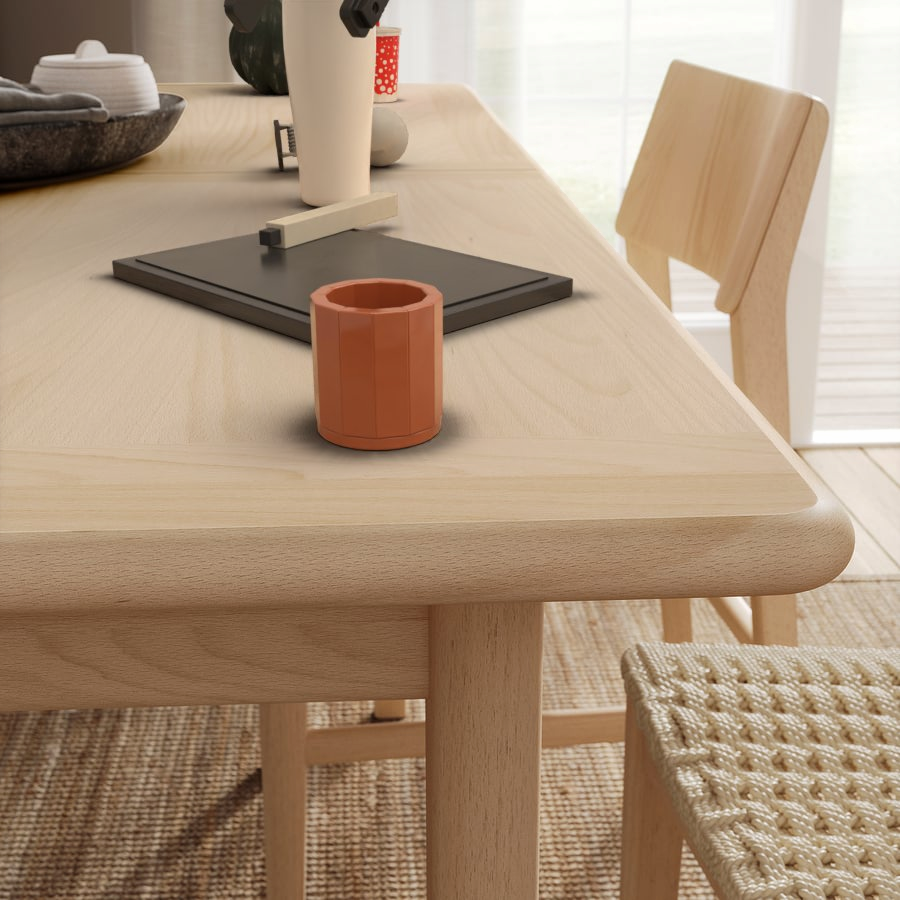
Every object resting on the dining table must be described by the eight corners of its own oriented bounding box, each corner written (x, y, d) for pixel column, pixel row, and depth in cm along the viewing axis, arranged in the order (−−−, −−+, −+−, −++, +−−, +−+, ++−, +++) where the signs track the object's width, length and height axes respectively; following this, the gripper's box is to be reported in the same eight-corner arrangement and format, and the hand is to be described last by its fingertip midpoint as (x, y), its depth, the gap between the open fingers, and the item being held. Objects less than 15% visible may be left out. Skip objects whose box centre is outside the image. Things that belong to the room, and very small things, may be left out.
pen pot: (292, 426, 47) (284, 294, 45) (383, 396, 51) (380, 271, 48) (374, 461, 44) (371, 320, 42) (466, 426, 47) (467, 294, 45)
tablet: (113, 276, 69) (111, 258, 69) (321, 234, 80) (321, 218, 79) (358, 359, 55) (357, 337, 55) (573, 295, 66) (573, 276, 65)
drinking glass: (273, 202, 90) (262, -6, 85) (343, 191, 95) (336, -8, 89) (327, 215, 86) (318, -4, 80) (397, 203, 90) (394, -6, 84)
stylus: (254, 224, 71) (380, 191, 81) (255, 249, 71) (380, 213, 81) (273, 227, 70) (398, 193, 80) (274, 252, 70) (398, 215, 81)
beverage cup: (349, 99, 156) (345, -14, 150) (392, 97, 158) (390, -15, 152) (366, 104, 150) (362, -13, 145) (409, 101, 153) (408, -14, 147)
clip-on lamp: (297, 181, 115) (265, 170, 97) (289, 115, 114) (256, 91, 96) (416, 170, 115) (406, 156, 97) (409, 103, 114) (398, 77, 96)
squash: (326, 44, 172) (259, -38, 163) (371, 56, 161) (302, -32, 151) (261, 114, 172) (190, 36, 162) (302, 131, 160) (228, 47, 151)
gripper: (279, -225, 73) (165, -24, 69) (475, -244, 66) (363, -22, 62) (333, -126, 79) (232, 64, 75) (518, -133, 72) (419, 75, 68)
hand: (291, 25), depth 68 cm, fingers open, 8 cm apart
